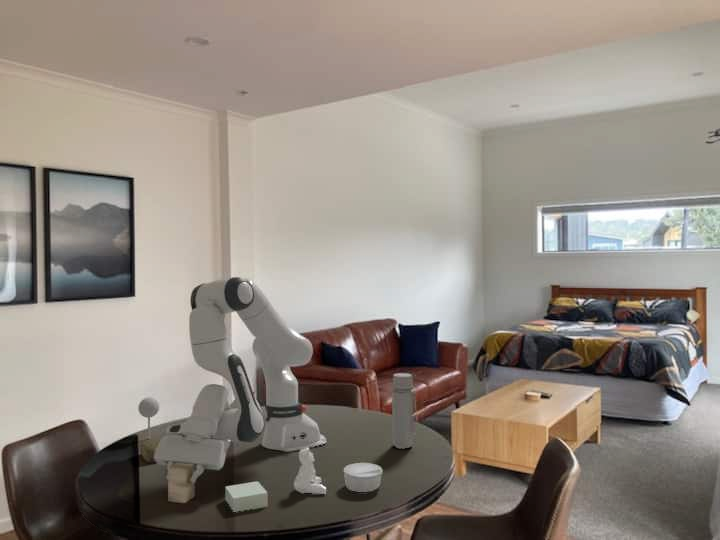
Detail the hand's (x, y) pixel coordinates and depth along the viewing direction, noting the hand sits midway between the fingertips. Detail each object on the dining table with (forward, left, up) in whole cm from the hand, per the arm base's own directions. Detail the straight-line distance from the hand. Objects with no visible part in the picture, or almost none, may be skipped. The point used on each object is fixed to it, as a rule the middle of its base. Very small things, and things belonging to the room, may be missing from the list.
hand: (180, 481), depth 161 cm
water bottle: (-75, -21, -5) cm, 78 cm away
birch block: (0, -1, -5) cm, 5 cm away
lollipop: (+8, -61, -5) cm, 61 cm away
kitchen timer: (-28, -71, -5) cm, 76 cm away
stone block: (+7, -39, -5) cm, 40 cm away
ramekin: (-49, +8, -5) cm, 50 cm away
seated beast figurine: (-34, +5, -5) cm, 35 cm away
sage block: (-16, +8, -5) cm, 19 cm away
